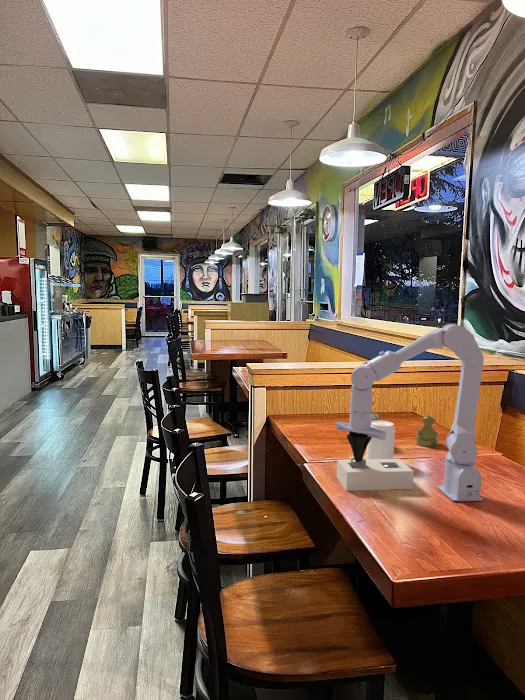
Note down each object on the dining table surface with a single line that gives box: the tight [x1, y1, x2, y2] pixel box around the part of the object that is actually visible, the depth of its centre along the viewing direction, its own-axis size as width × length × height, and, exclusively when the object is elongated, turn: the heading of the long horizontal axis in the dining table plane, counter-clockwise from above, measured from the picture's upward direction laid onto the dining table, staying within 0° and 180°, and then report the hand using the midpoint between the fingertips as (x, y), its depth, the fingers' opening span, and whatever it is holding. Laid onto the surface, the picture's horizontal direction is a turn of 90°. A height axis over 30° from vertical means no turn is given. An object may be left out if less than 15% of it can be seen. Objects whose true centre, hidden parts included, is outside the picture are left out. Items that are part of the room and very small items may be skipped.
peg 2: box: [383, 463, 398, 468], centre depth 136 cm, size 4×4×4 cm
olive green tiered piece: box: [415, 415, 440, 448], centre depth 174 cm, size 7×7×10 cm
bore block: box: [336, 458, 415, 492], centre depth 136 cm, size 10×18×5 cm, turn 96°
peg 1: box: [350, 457, 366, 469], centre depth 135 cm, size 4×4×4 cm
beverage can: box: [365, 420, 396, 459], centre depth 154 cm, size 8×8×12 cm
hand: (358, 460), depth 135 cm, fingers closed, pressing on peg 1
